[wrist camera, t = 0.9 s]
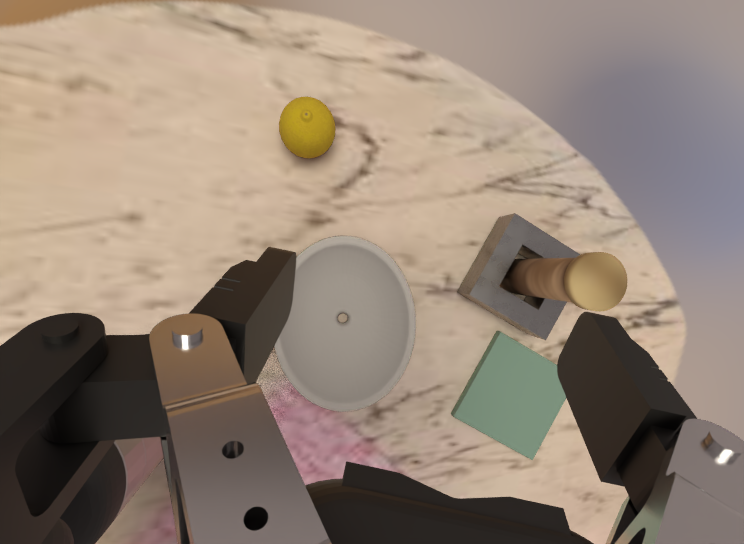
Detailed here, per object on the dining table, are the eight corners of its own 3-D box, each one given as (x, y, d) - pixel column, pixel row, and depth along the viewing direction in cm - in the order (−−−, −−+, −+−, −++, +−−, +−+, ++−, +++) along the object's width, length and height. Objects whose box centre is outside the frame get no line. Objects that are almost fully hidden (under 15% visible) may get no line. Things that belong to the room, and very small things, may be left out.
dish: (408, 391, 48) (418, 406, 43) (279, 401, 46) (275, 417, 41) (403, 236, 47) (413, 233, 42) (273, 240, 45) (268, 237, 40)
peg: (520, 304, 49) (609, 321, 34) (486, 283, 48) (562, 292, 33) (539, 268, 49) (637, 271, 34) (506, 248, 49) (590, 241, 34)
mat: (528, 456, 50) (532, 460, 49) (450, 413, 48) (453, 416, 47) (572, 375, 50) (577, 377, 49) (496, 330, 49) (500, 332, 48)
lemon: (343, 135, 46) (348, 108, 38) (315, 175, 46) (314, 157, 38) (301, 104, 45) (298, 70, 37) (272, 145, 45) (262, 120, 37)
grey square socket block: (527, 333, 49) (545, 340, 45) (456, 292, 48) (469, 294, 44) (567, 260, 50) (589, 260, 46) (498, 217, 48) (515, 213, 44)
